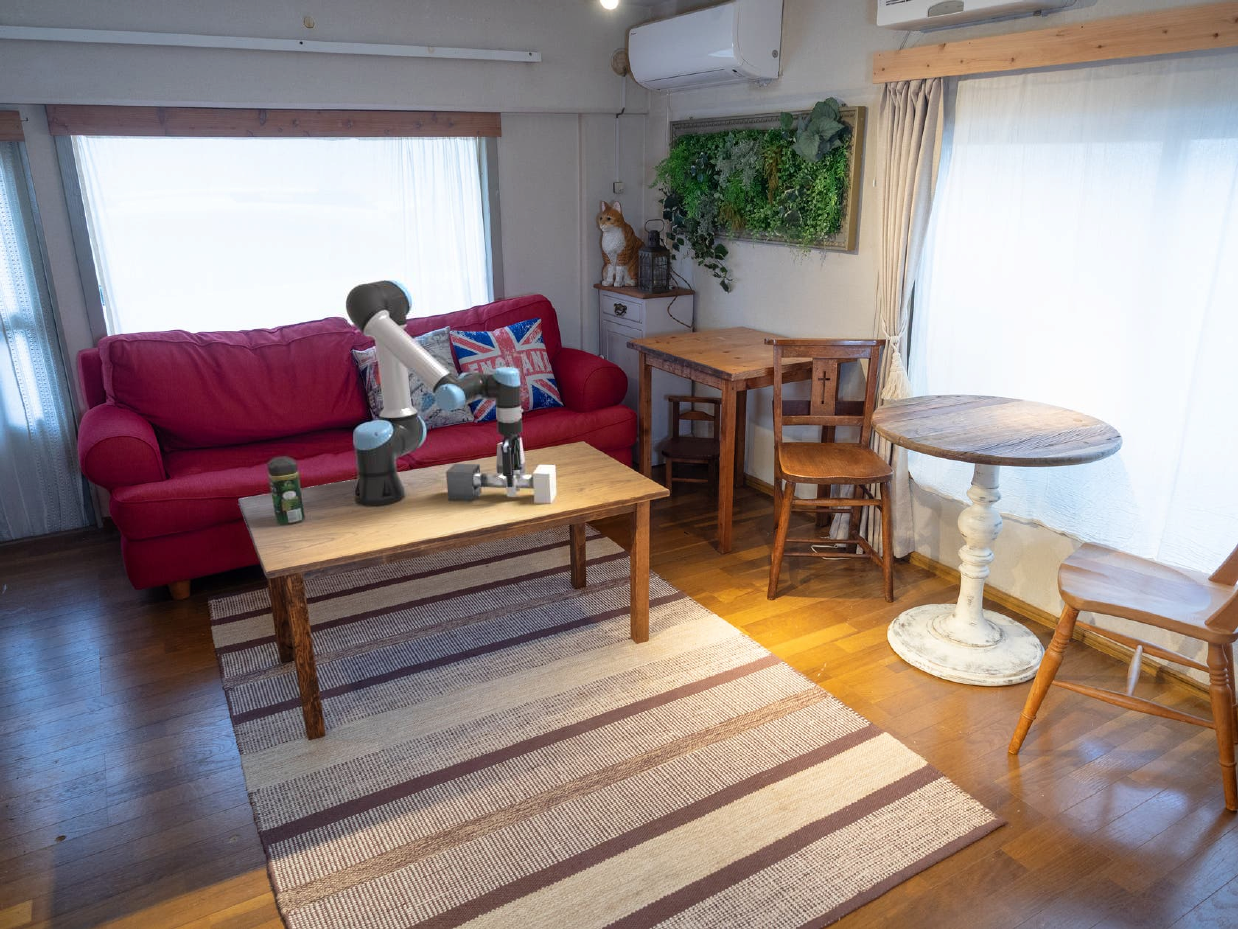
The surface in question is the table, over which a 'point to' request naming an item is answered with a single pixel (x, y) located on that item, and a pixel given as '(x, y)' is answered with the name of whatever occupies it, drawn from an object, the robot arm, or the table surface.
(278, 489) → the coffee jar
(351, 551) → the table surface
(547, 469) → the socket block
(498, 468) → the smart speaker
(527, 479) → the tube
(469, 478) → the sleeve
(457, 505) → the table surface
